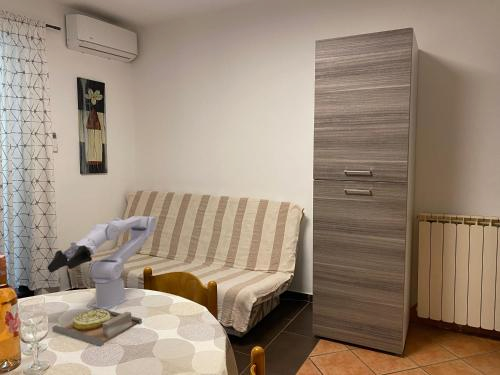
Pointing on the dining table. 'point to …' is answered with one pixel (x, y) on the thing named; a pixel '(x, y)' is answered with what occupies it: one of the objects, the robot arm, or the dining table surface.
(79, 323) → the decorated donut
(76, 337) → the rails
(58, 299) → the dining table surface
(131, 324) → the brown square board
